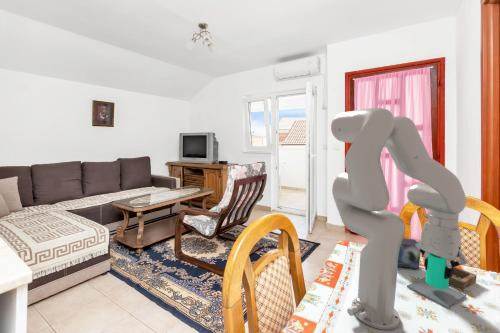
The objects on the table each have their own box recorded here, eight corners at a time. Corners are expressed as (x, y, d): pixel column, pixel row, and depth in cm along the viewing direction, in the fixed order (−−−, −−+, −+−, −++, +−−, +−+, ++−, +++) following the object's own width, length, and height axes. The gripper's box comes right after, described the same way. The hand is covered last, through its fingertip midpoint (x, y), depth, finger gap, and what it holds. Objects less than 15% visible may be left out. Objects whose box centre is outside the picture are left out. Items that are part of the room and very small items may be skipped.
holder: (462, 290, 82) (463, 282, 81) (429, 275, 91) (430, 268, 90) (475, 282, 86) (476, 275, 86) (443, 269, 95) (443, 262, 95)
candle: (452, 290, 77) (456, 255, 76) (431, 288, 78) (434, 253, 77) (441, 279, 83) (444, 246, 82) (422, 277, 84) (425, 245, 83)
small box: (390, 267, 96) (392, 242, 95) (384, 259, 103) (386, 236, 101) (419, 271, 94) (422, 245, 93) (412, 262, 100) (414, 238, 99)
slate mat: (447, 308, 73) (448, 306, 73) (406, 287, 84) (407, 285, 83) (465, 296, 79) (466, 295, 79) (425, 278, 89) (425, 276, 89)
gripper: (408, 215, 84) (404, 264, 86) (470, 232, 69) (463, 291, 71) (420, 212, 87) (416, 259, 90) (481, 227, 72) (475, 283, 75)
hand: (437, 273), depth 80 cm, fingers closed on candle, 4 cm apart
